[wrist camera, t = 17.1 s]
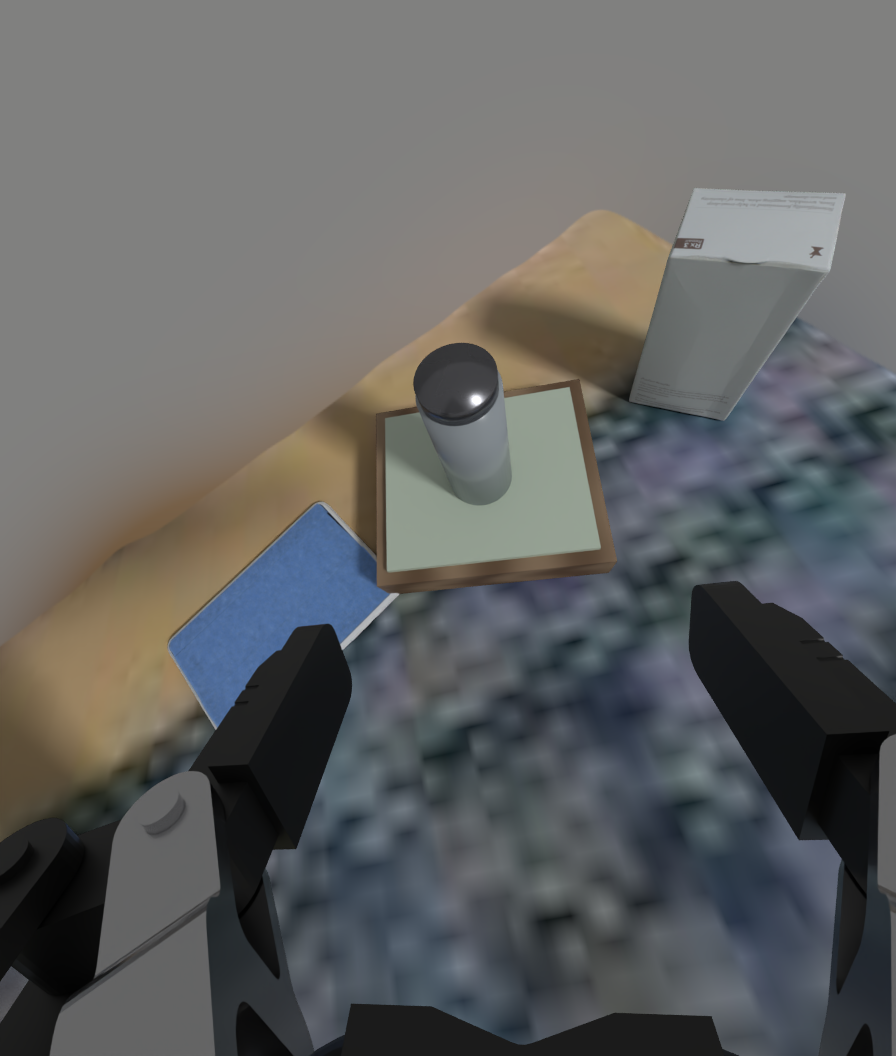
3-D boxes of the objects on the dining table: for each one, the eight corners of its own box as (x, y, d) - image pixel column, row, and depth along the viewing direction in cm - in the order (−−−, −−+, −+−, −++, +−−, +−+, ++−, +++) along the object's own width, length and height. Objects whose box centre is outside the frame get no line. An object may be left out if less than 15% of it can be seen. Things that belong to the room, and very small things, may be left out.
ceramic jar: (451, 508, 33) (410, 423, 22) (448, 453, 35) (409, 348, 24) (514, 501, 33) (505, 409, 21) (509, 445, 34) (497, 332, 23)
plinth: (390, 594, 36) (374, 585, 32) (388, 434, 42) (374, 410, 38) (608, 572, 33) (618, 559, 30) (575, 403, 39) (579, 375, 35)
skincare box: (738, 369, 37) (859, 187, 23) (722, 427, 36) (841, 268, 22) (639, 351, 40) (696, 177, 26) (621, 404, 38) (670, 249, 24)
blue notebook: (325, 500, 41) (319, 495, 40) (409, 588, 37) (404, 585, 35) (172, 645, 39) (161, 644, 38) (241, 757, 35) (230, 760, 33)
